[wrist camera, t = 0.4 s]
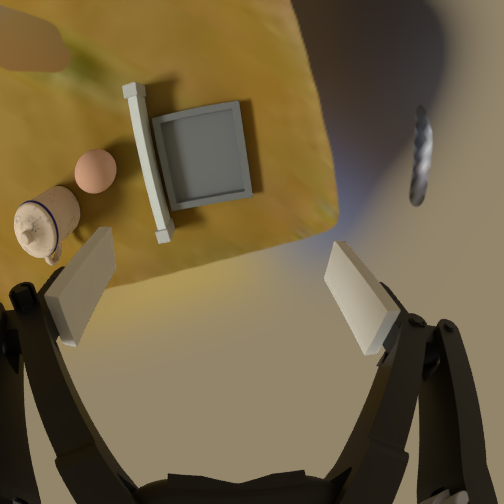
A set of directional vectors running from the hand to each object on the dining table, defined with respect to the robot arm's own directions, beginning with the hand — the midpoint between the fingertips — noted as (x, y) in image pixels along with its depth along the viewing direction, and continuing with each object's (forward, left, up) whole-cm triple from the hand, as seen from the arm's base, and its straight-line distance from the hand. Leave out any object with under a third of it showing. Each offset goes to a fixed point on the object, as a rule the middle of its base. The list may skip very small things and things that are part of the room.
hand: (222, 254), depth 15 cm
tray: (-2, -2, -26) cm, 26 cm away
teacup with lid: (+2, -29, -26) cm, 39 cm away
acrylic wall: (-3, -10, -26) cm, 28 cm away
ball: (-4, -18, -23) cm, 29 cm away
